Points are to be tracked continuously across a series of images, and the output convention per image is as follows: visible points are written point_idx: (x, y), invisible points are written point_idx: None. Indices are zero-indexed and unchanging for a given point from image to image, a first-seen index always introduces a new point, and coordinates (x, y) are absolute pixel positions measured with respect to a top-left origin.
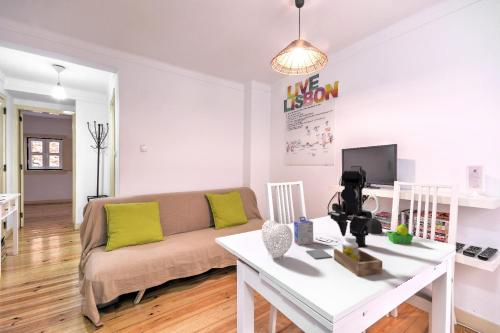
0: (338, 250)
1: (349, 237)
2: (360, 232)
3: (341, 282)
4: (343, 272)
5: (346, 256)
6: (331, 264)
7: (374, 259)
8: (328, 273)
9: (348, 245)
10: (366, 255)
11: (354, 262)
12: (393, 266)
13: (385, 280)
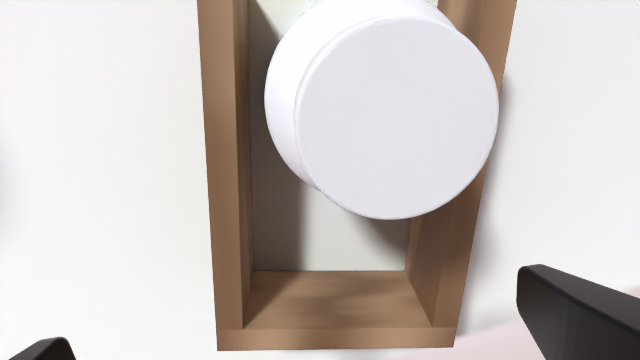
0: (227, 29)
1: (350, 156)
2: (540, 347)
3: (77, 321)
4: (166, 219)
5: (213, 205)
6: (142, 74)
7: (435, 293)
8: (40, 207)
9: (290, 164)
10: (447, 203)
11: (216, 307)
12: (591, 226)
13: (363, 351)
